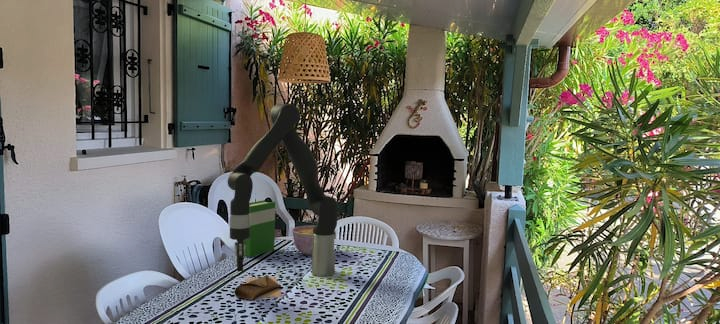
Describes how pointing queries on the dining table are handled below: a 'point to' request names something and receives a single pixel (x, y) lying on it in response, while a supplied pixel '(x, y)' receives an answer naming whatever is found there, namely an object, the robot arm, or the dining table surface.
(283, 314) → the dining table surface
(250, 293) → the sunglasses case
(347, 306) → the dining table surface
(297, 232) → the bowl of food
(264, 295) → the mat
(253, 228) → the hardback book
